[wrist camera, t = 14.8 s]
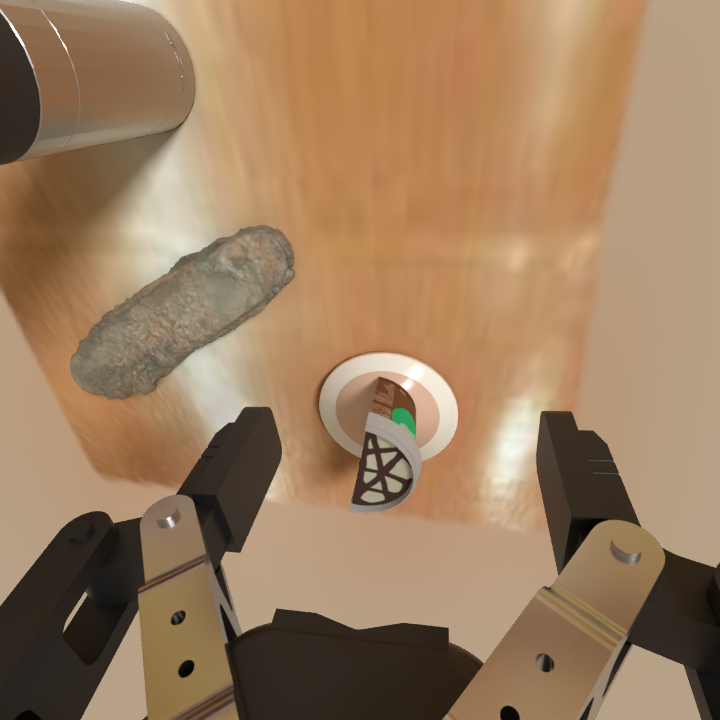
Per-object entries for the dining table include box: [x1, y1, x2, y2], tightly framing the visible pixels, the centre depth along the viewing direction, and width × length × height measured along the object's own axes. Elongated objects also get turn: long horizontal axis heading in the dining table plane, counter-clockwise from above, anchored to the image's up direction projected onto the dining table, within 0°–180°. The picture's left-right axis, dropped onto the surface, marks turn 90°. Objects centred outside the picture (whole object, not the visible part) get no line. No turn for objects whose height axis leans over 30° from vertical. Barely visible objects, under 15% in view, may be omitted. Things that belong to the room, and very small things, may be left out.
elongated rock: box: [70, 225, 295, 399], centre depth 50 cm, size 35×5×10 cm
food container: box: [349, 376, 422, 513], centre depth 47 cm, size 12×6×10 cm, turn 172°
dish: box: [319, 351, 458, 461], centre depth 52 cm, size 16×16×2 cm
